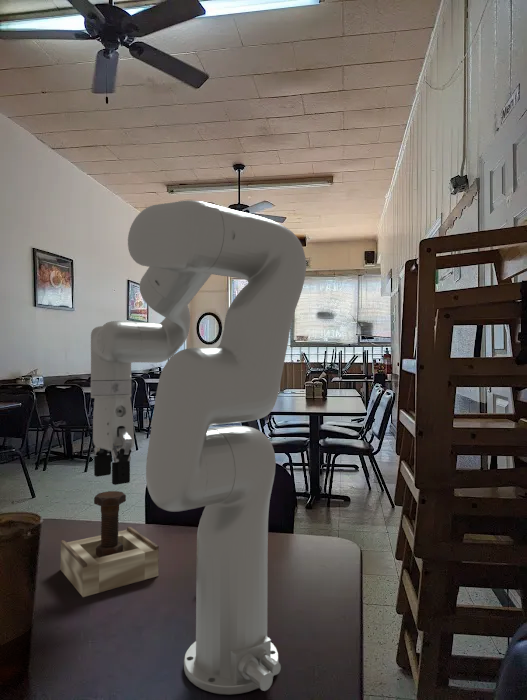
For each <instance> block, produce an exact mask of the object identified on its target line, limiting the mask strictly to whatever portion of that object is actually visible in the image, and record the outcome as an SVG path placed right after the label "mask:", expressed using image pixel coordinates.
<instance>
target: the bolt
mask: <svg viewBox="0 0 527 700" xmlns="http://www.w3.org/2000/svg"><path fill="white" fill-rule="evenodd" d="M126 500H127V495H126V494H125V493H124V492H122V491H117V490H112V491H111V490H108V491H103V492H100V493H97V494H96V495H95V496H94V498H93V505H94V504H95V505H96V506H99V507H100V516H101V517H100V518H101V520H100V523H101V524H100V535H101V543H100V544H99V545H98V546H97V547H96V555H97V556H98V557H99V558H100V557H104V556H108V555H112V554H116V553H121V552H123V545H122V543H121V542H119V541H118V532H119V527H120V526H119V523H120V522H119V513H120V505H122V504H123V503H125V502H127V501H126Z"/></svg>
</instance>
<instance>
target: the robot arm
mask: <svg viewBox="0 0 527 700" xmlns="http://www.w3.org/2000/svg"><path fill="white" fill-rule="evenodd" d="M127 247H128V252H129V256H130V257H131V259H132V260H133V261H134V262H135V263H136V264H138V265H139V266H143V267H148V268H147V269H146V271H145V272H144V274H143V275H142V277H141V279H140V282H139V292H140V295H141V296H140V297H142V299H143V301H144V302H145V303H146V305H147V306H148V307H149V308H150V309H151V310H153V311H154V312H156V313H157V314H159V315H161V316H162V317H164V318H163V320H162V321H161V322H158V323H157V322H142V321H141V322H139V321H125V320H124V321H123V320H113V321H112V320H111V321H108V322H106V323H104V324H103V325H100V326H96V327H94V328H93V329H92V330H91V333H90V398H91V399H94V401H93V416H92V417H93V419H92V440H93V441H92V442H93V446H94V449H93V455H94V456H93V458H94V459H93V461H94V462H93V463H94V464H93V471H94V472H93V473H94V476H95V477H97V478H98V477H103V476H110V475H111V483H112V485H114V486H116V485H122V484H129V483H130V482H131V453H132V449H133V447H134V445H135V436H134V434H135V431H134V416H133V407H132V401H131V398H132V363H146V364H147V363H149V364H150V363H152V364H155V363H163V362H166V361H167V362H166V363H165V365H164V367H163V368H162V370H161V373H160V376H159V378H158V384H157V388H156V393H155V400H154V405H153V406H154V408H153V413H152V421H151V426H150V434H149V435H150V436H149V441H148V448H147V455H146V464H145V480H146V487H147V491H148V493H149V495H150V496H149V497H150V498H151V500H152V502H153V503H154V504H155V505H156V506H157V507H158V508H160V509H162V510H163V511H167V512H174V513H175V512H183V511H188V510H194V509H199V508H202V507H204V509H203V511H202V515H201V516H200V519H199V524H198V527H197V533H196V572H195V573H196V574H195V576H196V578H195V579H196V580H195V582H196V584H195V585H196V587H195V588H196V589H195V592H196V595H195V596H196V599H195V600H196V601H195V604H196V606H195V614H196V615H195V618H196V619H195V641H194V642H193V643H192V644H191V645H190V646H189V647H188V649H187V650H186V652H185V654H184V657H183V670H184V674H185V676H186V677H187V679H188V680H189V682H191V683H192V684H193V685H194V686H195V687H198V688H199V689H201V690H203V691H206V692H209V693H213V694H217V695H239V694H244V693H249V692H253V691H255V690H258V689H260V690H261V691H264V692H266V691H268V690H269V689H270V688H271V686H272V685H273V679H274V676H277V675H279V674H280V672H281V668H282V666H281V663H280V662H279V659H280V658H279V656H280V655H279V652H278V649H277V647H276V646H275V645H274V643H272V642H271V641H272V639H271V638H270V637H268V552H269V550H268V546H269V545H268V542H269V541H268V539H269V535H268V534H269V514H270V513H269V511H270V504H271V503H270V502H271V501H270V500H271V496H272V495H271V494H272V492H273V491H272V490H273V485H274V481H275V475H276V465H277V464H276V462H277V461H276V460H277V459H276V454H275V450H274V446H273V444H272V442H271V440H270V438H268V436H267V435H266V434H264V432H262V431H261V430H259V429H257V428H254V427H251V426H246V425H229V424H237V423H238V424H239V423H246V422H247V423H248V422H251V421H252V422H253V421H256V420H260V419H263V418H265V417H267V416H268V415H269V414H270V413H271V412H272V411H273V409H274V408H275V405H276V402H277V399H278V397H279V396H278V394H279V391H280V386H281V381H282V375H283V372H284V371H283V370H284V365H285V360H286V355H287V349H288V345H289V338H290V332H291V327H292V323H293V320H294V319H293V318H294V316H295V312H296V309H297V306H298V303H299V301H300V298H301V295H302V291H303V287H304V284H305V279H306V275H307V274H306V272H307V260H306V254H305V251H304V247H303V245H302V242H301V240H300V239H299V238H298V237H297V235H296V234H295V233H294V231H292V230H290V229H289V228H287V227H286V226H285V225H283V224H281V223H279V222H277V221H274V220H272V219H268V218H267V217H262V216H259V215H255V214H252V213H248V212H244V211H239V210H235V209H231V208H227V207H224V206H220V205H217V204H213V203H210V202H205V201H202V200H201V201H199V200H193V199H192V200H191V199H188V200H180V201H179V200H178V201H173V202H167V203H165V202H164V203H159V204H152V205H150V206H148V207H145V208H144V209H143V210H142V211H140V213H138V214H137V215H136V217H134V220H133V222H132V223H131V225H130V227H129V232H128V237H127ZM212 275H215V276H221V277H229V278H237V279H243V280H245V281H247V282H248V283H247V284H246V285H245V286H244V287H243V288H242V289H241V290H240V291H239V292H238V293H237V295H236V296H235V297H234V299H233V300H232V301H231V303H230V305H229V307H228V309H227V312H226V314H225V317H224V324H223V330H222V331H223V332H222V334H221V335H222V336H221V339H220V343H219V345H218V346H217V347H191V348H184V349H182V350H179V349H181V347H182V346H183V345H184V343H185V342H186V341H187V339H188V336H189V332H190V327H191V314H190V313H191V312H190V308H189V306H188V305H189V304H190V303H191V302H192V300H193V299H194V298H195V296H196V295H197V294H198V292H199V291H200V290H201V289H202V287H203V286H204V285H205V284H206V282H207V281H208V280H209V279H210V277H211V276H212ZM226 424H227V425H229V426H221V427H219V426H218V427H212V428H211V427H210V426H215V425H226ZM110 452H111V454H110ZM112 458H113V459H112ZM112 460H113V462H112Z"/></svg>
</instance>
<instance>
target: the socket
mask: <svg viewBox="0 0 527 700" xmlns="http://www.w3.org/2000/svg"><path fill="white" fill-rule="evenodd" d="M118 541H119V542H121V543H122V545H123V552H121V553H116V554H112V555H108V556H104V557H100V558H99V557H98V556H97V555H96V547H97V546H98V545H99V544H100V543H101V534H100V535H96V536H91V537H87V538H82V539H77V540H76V539H75V540H72V541H68V542H67V541H66V540H64V539H63V540H60V571H61V572H62V573H63V575H64V576H65V577H66V578H67V580H68V581H69V582H70V584H72V586H73V587H74V588H75V589H76V591H77V592H78V593H79V594H80V595H81V597H82V598H85V597H89V596H92V595H95V594H99V593H103V592H106V591H110V590H114V589H117V588H120V587H121V588H122V587H123V586H124V587H125V586H128V585H130V584H134V583H139V582H142V581H145V580H148V579H152V578H155V577H159V560H160V559H159V557H160V556H159V555H160V554H159V553H160V551H159V545H158V544H156V543H155V542H154V541H152V540H150V539H149V538H148V537H146V536H145V535H143V534H142V533H140V532H139V531H138V530H136V529H135V528H133V527H132V526H127V527H126V529H124V530H118Z"/></svg>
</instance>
